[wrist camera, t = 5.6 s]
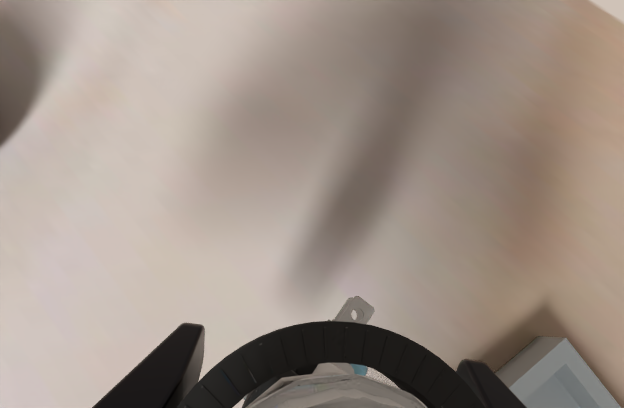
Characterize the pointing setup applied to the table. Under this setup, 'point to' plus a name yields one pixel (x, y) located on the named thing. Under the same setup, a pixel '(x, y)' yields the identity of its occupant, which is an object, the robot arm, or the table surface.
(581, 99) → the table surface
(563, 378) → the tray
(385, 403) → the push button
